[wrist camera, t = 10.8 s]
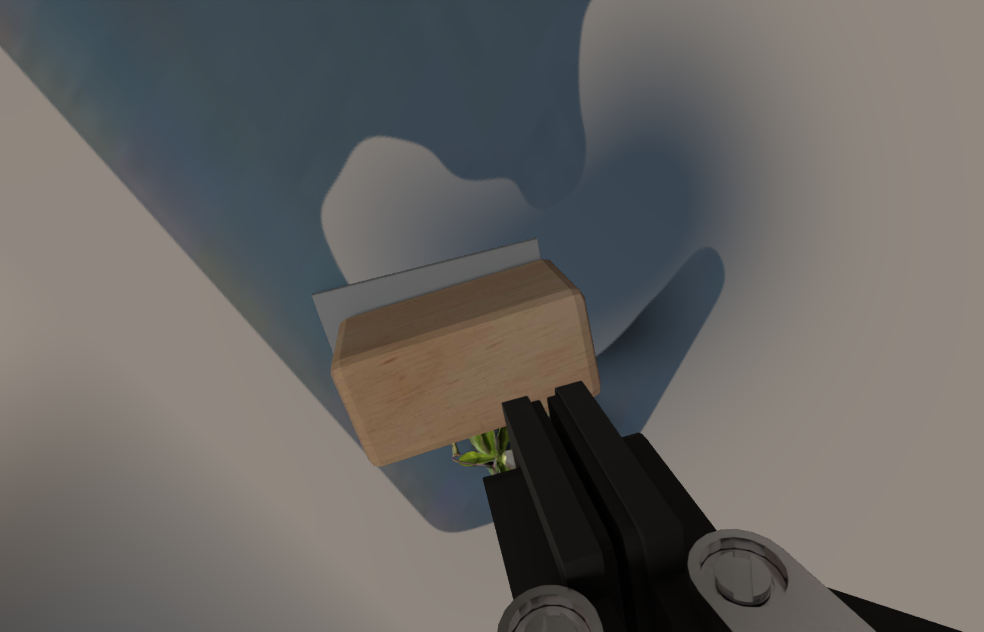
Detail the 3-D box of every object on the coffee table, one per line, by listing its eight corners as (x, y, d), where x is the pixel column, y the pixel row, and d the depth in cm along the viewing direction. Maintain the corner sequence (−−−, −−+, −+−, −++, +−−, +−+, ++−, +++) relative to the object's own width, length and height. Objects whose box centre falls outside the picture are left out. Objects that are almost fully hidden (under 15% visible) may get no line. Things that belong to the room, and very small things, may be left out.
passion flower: (529, 398, 61) (591, 488, 55) (447, 447, 59) (502, 546, 53) (524, 354, 51) (598, 458, 46) (426, 411, 49) (490, 528, 44)
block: (586, 289, 39) (324, 370, 38) (606, 398, 43) (371, 475, 42) (548, 253, 48) (336, 317, 47) (568, 346, 52) (373, 407, 51)
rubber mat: (312, 293, 46) (311, 295, 46) (535, 237, 48) (537, 239, 48) (354, 406, 51) (353, 408, 51) (555, 351, 53) (556, 353, 52)
